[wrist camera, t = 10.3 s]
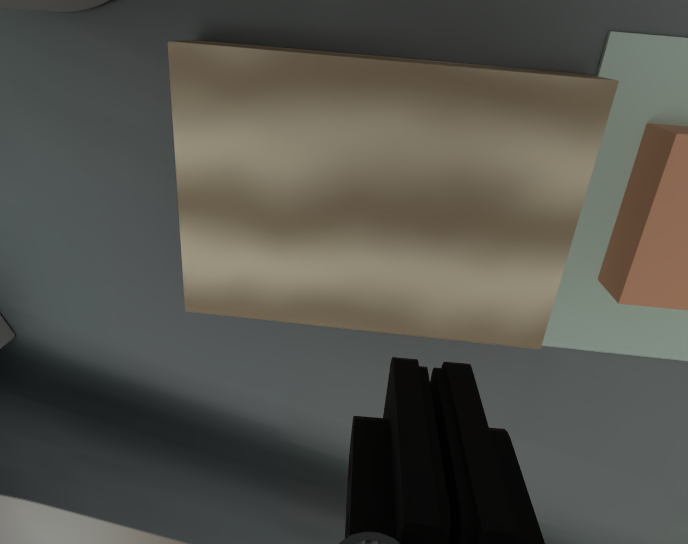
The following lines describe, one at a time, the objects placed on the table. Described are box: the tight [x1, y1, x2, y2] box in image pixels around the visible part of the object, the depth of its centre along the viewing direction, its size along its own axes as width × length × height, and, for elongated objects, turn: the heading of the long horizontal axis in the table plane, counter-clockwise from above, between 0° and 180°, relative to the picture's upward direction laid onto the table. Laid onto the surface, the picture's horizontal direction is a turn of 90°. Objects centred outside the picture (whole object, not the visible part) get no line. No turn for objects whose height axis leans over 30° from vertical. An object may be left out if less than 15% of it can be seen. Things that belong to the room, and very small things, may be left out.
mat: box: [542, 31, 688, 361], centre depth 28 cm, size 18×14×1 cm
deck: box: [168, 40, 619, 349], centre depth 27 cm, size 14×20×4 cm
